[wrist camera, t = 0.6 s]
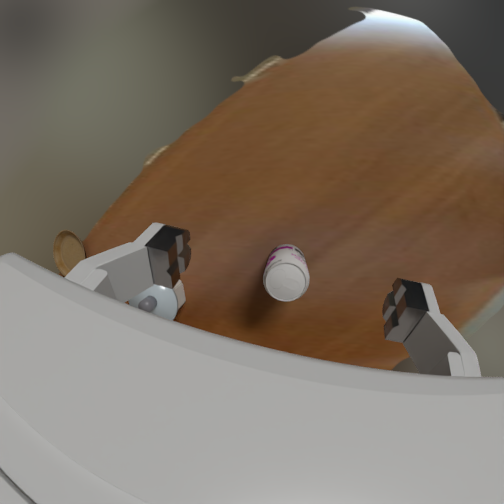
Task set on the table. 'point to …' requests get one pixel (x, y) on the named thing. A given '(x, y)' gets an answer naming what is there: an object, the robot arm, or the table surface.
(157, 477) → the robot arm
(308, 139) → the table surface
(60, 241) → the plant saucer
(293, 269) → the supplement can
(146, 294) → the lid
